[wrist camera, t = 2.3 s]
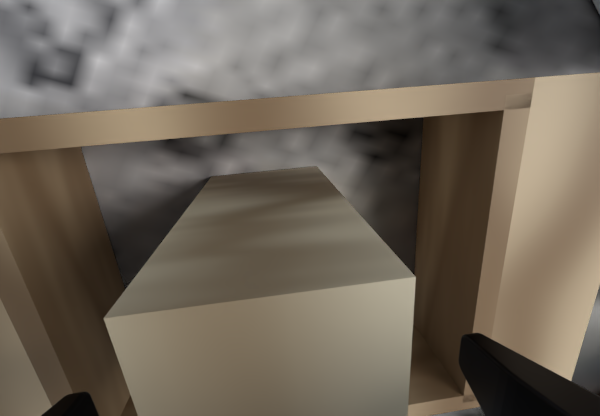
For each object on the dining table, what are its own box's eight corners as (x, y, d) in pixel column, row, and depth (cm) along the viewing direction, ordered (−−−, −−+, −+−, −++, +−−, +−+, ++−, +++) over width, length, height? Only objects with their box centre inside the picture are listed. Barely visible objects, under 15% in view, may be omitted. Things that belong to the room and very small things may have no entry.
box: (316, 166, 13) (415, 277, 4) (324, 301, 15) (399, 543, 7) (211, 176, 13) (103, 318, 4) (235, 313, 15) (198, 586, 6)
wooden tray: (531, 80, 13) (663, 67, 9) (492, 320, 17) (568, 391, 13) (-68, 127, 11) (-281, 140, 7) (52, 385, 15) (-32, 495, 11)
